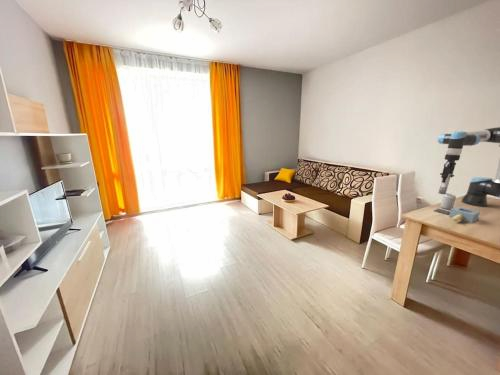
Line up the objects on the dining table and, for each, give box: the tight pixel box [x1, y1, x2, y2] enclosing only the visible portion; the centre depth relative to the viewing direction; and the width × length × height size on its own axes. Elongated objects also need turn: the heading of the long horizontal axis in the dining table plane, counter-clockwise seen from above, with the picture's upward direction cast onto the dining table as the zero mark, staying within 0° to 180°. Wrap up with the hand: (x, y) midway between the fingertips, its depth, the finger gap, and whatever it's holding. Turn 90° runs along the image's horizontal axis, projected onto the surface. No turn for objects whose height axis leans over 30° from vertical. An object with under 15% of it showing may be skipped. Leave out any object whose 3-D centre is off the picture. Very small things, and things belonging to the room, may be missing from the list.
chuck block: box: [448, 205, 481, 224], centre depth 145 cm, size 22×12×6 cm, turn 119°
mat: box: [433, 208, 450, 216], centre depth 158 cm, size 8×8×1 cm
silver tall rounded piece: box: [438, 172, 455, 195], centre depth 148 cm, size 4×8×15 cm, turn 29°
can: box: [439, 192, 457, 211], centre depth 164 cm, size 8×8×12 cm
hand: (443, 186), depth 149 cm, fingers closed on silver tall rounded piece, 4 cm apart
